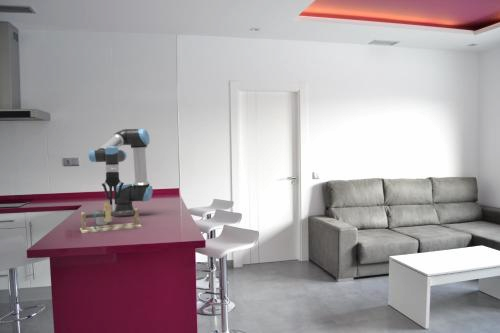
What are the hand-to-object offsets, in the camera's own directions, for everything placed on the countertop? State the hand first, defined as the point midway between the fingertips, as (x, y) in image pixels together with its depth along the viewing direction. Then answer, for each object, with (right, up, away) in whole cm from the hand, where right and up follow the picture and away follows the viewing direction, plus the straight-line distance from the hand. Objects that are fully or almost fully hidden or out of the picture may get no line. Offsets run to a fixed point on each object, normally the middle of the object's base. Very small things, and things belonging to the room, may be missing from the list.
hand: (113, 209), depth 236 cm
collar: (-3, -7, -2) cm, 7 cm away
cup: (-11, -11, +16) cm, 23 cm away
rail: (-1, -12, 0) cm, 12 cm away
